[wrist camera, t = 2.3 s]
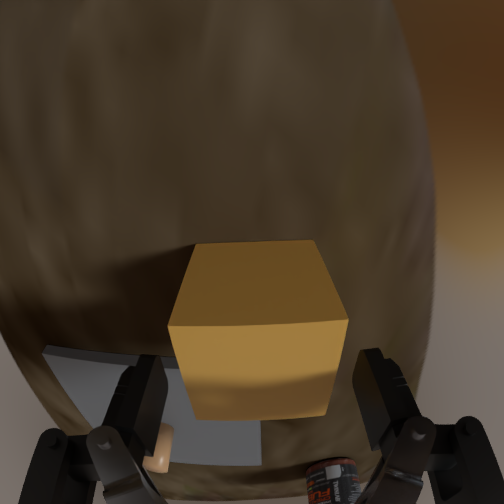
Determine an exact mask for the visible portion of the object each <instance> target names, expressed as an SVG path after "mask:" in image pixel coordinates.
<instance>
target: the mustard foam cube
mask: <svg viewBox="0 0 504 504" xmlns="http://www.w3.org/2000/svg"><path fill="white" fill-rule="evenodd" d="M348 320H349V319H348V317H347V314H346V312H345V309H344V307H343V305H342V303H341V300H340V298H339V296H338V293H337V291H336V289H335V286H334V284H333V282H332V280H331V278H330V275H329V273H328V271H327V269H326V266H325V264H324V262H323V260H322V258H321V256H320V253H319V251H318V249H317V247H316V245H315V243H314V241H313V240H287V241H258V242H231V243H205V244H196V245H195V248H194V251H193V253H192V256H191V259H190V262H189V264H188V267H187V270H186V273H185V276H184V279H183V281H182V284H181V287H180V290H179V293H178V296H177V299H176V302H175V305H174V308H173V311H172V314H171V317H170V320H169V323H168V330H169V333H170V337H171V341H172V344H173V348H174V351H175V355H176V358H177V362H178V365H179V368H180V372H181V375H182V378H183V381H184V385H185V388H186V391H187V394H188V397H189V400H190V403H191V406H192V409H193V412H194V414H195V417H196V420H214V421H252V420H276V419H291V418H303V417H313V416H321V415H325V414H326V410H327V407H328V403H329V400H330V396H331V393H332V389H333V385H334V381H335V377H336V373H337V369H338V365H339V361H340V357H341V353H342V348H343V344H344V339H345V335H346V330H347V325H348Z"/></svg>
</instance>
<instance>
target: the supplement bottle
mask: <svg viewBox="0 0 504 504" xmlns="http://www.w3.org/2000/svg"><path fill="white" fill-rule="evenodd" d="M306 481H307V490H308V499H309V504H354V503H355V502H356V500H357V499H358V497H359V496H360V495H361V488H360V484H359V479H358V473H357V469H356V465H355V462H354V461H353V460H352V459H349V458H335V459H329V460H325V461H322V462H319V463H316V464H314V465H312V466H311V467H309V468H308V469H307V471H306Z"/></svg>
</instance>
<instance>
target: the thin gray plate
mask: <svg viewBox="0 0 504 504" xmlns="http://www.w3.org/2000/svg"><path fill="white" fill-rule="evenodd" d="M42 355H43V356H44V358H45V360H46V362H47V363H48V365H49V366H50V368H51V370H52V371H53V373H54V375H55V376H56V378H57V379H58V381H59V382H60V384H61V385H62V387H63V388H64V390H65V391H66V393H67V394H68V396H69V397H70V398H71V400H72V401H73V403H74V404H75V405H76V407H77V408H78V409H79V411H80V412H81V413H82V415H83V416H84V417H85V419H86V420H87V421H88V422H89V424H90V425H91V426H92V427H93V429H94V428H96V427H98V426H101V424H102V422H103V420H104V417H105V415H106V412H107V409H108V407H109V404H110V401H111V399H112V396H113V394H114V391H115V388H116V386H117V383H118V381H119V378H120V376H121V374H122V373H123V372H124V371H125V370H126V369H127V368H128V367H129V366H136V364H137V361H138V358H139V356H140V355H127V354H115V353H105V352H96V351H87V350H79V349H72V348H65V347H58V346H52V345H47V346H46V347H45V349H44V350H43V352H42ZM160 358H161V361H162V364H163V367H164V370H165V373H166V376H167V379H168V394H167V399H166V403H165V407H164V411H163V415H162V420H161V424H160V428H159V433H158V437H157V442H156V447H155V451H154V456H153V457H148V456H144V460H143V465H144V467H145V469H147V470H150V471H153V472H158V473H166V472H167V471H168V465H169V462H179V463H189V464H203V465H230V466H249V465H261V430H260V420H252V421H214V420H196V417H195V414H194V412H193V409H192V406H191V403H190V400H189V397H188V394H187V391H186V388H185V385H184V381H183V378H182V375H181V372H180V368H179V365H178V362H177V358H176V357H160Z"/></svg>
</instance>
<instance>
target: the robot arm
mask: <svg viewBox="0 0 504 504" xmlns="http://www.w3.org/2000/svg"><path fill="white" fill-rule="evenodd" d="M352 383H353V388H354V392H355V395H356V398H357V401H358V405H359V408H360V411H361V415H362V418H363V422H364V425H365V428H366V432H367V435H368V439H369V443H370V446H371V450H372V451H374V450H379V449H381V452H382V456H381V458H380V460H379V462H378V464H377V466H376V468H375V470H374V472H373V474H372V475H371V477H370V479H369V481H368V483H367V485H366V486H365V488H364V490H363V492H362V493H361V495H360V496H359V497H358V499H357V500H356V502H355V503H354V504H416V502H417V500H418V497H419V495H420V493H421V490H422V488H423V481H422V480H421V478H422V475H423V472H424V471H427V472H428V475H429V479H430V483H431V487H432V491H433V496H434V500H435V504H504V480H503V477H502V474H501V471H500V468H499V465H498V463H497V460H496V457H495V454H494V452H493V450H492V447H491V444H490V442H489V440H488V437H487V435H486V432H485V430H484V428H483V425H482V424H481V422H480V421H479V420H478V419H476V418H475V417H472V416H466V417H462V418H461V419H459V420H458V422H457V423H456V424H452V425H451V424H450V425H438V424H434V423H433V422H432V421H431V420H430V419H428V418H427V417H424V416H422V415H421V413H420V411H419V409H418V407H417V404H416V402H415V400H414V397H413V395H412V393H411V391H410V389H409V387H408V386H407V382H406V380H405V378H404V377H403V374H402V372H401V370H400V367H399V366H398V365H397V364H396V363H395V362H394V361H393V360H392V359H391V358H389V359H384V357H383V355H382V352H381V350H380V349H379V348H372V349H364V350H360V352H359V355H358V358H357V362H356V365H355V369H354V372H353V377H352ZM167 394H168V379H167V376H166V373H165V370H164V367H163V364H162V361H161V358H160V356H159V355H145V354H141V355H140V356H139V358H138V361H137V364H136V366H129V367H128V368H127V369H126V370H125V371H124V372H123V373H122V374H121V376H120V378H119V381H118V383H117V386H116V388H115V391H114V394H113V396H112V399H111V401H110V404H109V407H108V409H107V412H106V415H105V417H104V420H103V422H102V424H101V426H98V427H96V428H94V429H93V430H91V431H90V433H89V434H87V435H76V436H67V435H66V434H65V433H64V432H63V431H62V430H60V429H57V428H51V429H48V430H46V431H44V432H43V433H42V434H41V436H40V438H39V441H38V443H37V446H36V449H35V451H34V454H33V457H32V460H31V463H30V466H29V469H28V472H27V475H26V478H25V482H24V485H23V488H22V492H21V495H20V499H19V503H18V504H92V503H93V497H94V492H95V487H96V483H97V481H101V482H102V484H103V486H104V491H103V496H104V499H105V501H106V503H107V504H168V503H167V502H166V501H165V499H164V498H163V496H162V495H161V493H160V492H159V490H158V489H157V487H156V485H155V484H154V482H153V481H152V479H151V477H150V476H149V474H148V472H147V471H146V469H145V467H144V465H143V460H144V456H148V457H153V456H154V451H155V447H156V442H157V437H158V433H159V428H160V424H161V420H162V415H163V411H164V407H165V403H166V399H167Z"/></svg>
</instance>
